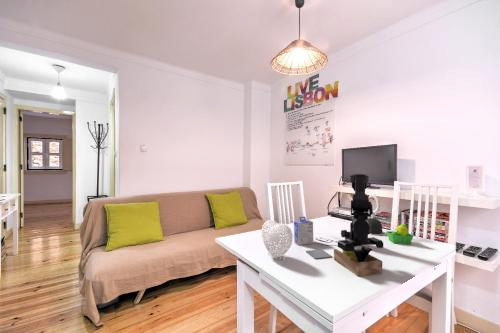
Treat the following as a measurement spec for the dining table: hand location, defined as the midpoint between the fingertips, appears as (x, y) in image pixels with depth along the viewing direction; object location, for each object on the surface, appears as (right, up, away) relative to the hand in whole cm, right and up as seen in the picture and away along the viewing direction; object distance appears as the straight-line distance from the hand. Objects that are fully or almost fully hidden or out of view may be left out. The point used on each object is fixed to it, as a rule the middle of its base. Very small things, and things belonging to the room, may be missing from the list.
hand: (360, 264), depth 96 cm
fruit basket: (+39, -2, +32) cm, 50 cm away
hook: (+33, -2, +50) cm, 60 cm away
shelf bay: (-1, -2, +2) cm, 3 cm away
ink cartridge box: (-17, -2, +31) cm, 36 cm away
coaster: (-13, -2, +15) cm, 20 cm away
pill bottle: (-2, -2, +6) cm, 7 cm away
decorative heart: (-35, -2, +11) cm, 36 cm away
